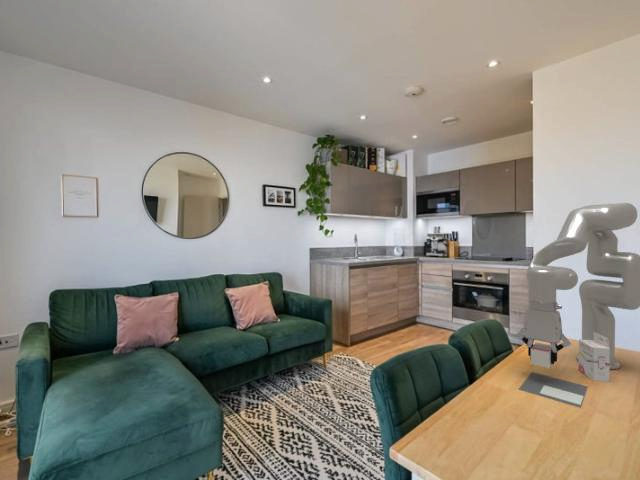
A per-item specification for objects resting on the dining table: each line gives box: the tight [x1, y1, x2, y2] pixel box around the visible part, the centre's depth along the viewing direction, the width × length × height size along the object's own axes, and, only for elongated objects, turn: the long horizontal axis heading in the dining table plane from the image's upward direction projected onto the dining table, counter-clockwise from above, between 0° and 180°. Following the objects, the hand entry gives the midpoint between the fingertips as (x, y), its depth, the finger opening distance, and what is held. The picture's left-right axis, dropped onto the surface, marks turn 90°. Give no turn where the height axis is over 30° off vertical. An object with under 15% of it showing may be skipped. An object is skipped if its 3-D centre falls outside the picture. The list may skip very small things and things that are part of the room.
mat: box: [518, 371, 588, 409], centre depth 99 cm, size 18×15×1 cm
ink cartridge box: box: [578, 332, 610, 383], centre depth 108 cm, size 9×5×15 cm, turn 168°
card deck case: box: [530, 341, 553, 369], centre depth 105 cm, size 8×5×5 cm, turn 135°
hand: (542, 360), depth 105 cm, fingers closed on card deck case, 5 cm apart
